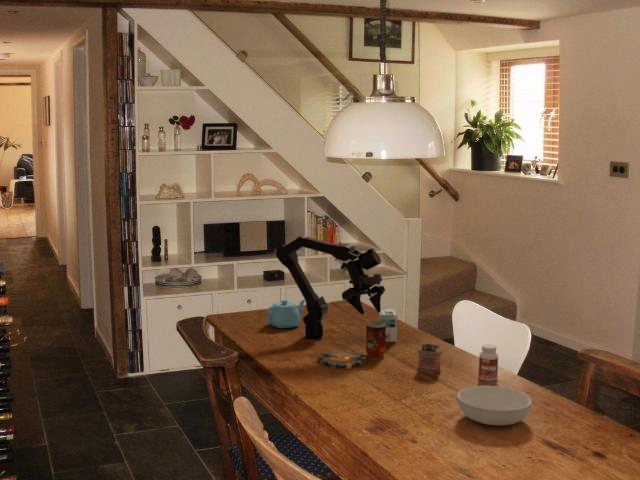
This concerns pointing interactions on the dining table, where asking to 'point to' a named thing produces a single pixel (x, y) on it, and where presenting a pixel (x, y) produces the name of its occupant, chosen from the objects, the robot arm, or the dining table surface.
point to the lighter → (429, 358)
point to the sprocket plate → (341, 359)
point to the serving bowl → (494, 404)
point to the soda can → (375, 339)
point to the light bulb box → (389, 323)
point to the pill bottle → (488, 363)
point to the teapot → (285, 314)
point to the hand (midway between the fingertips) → (371, 313)
